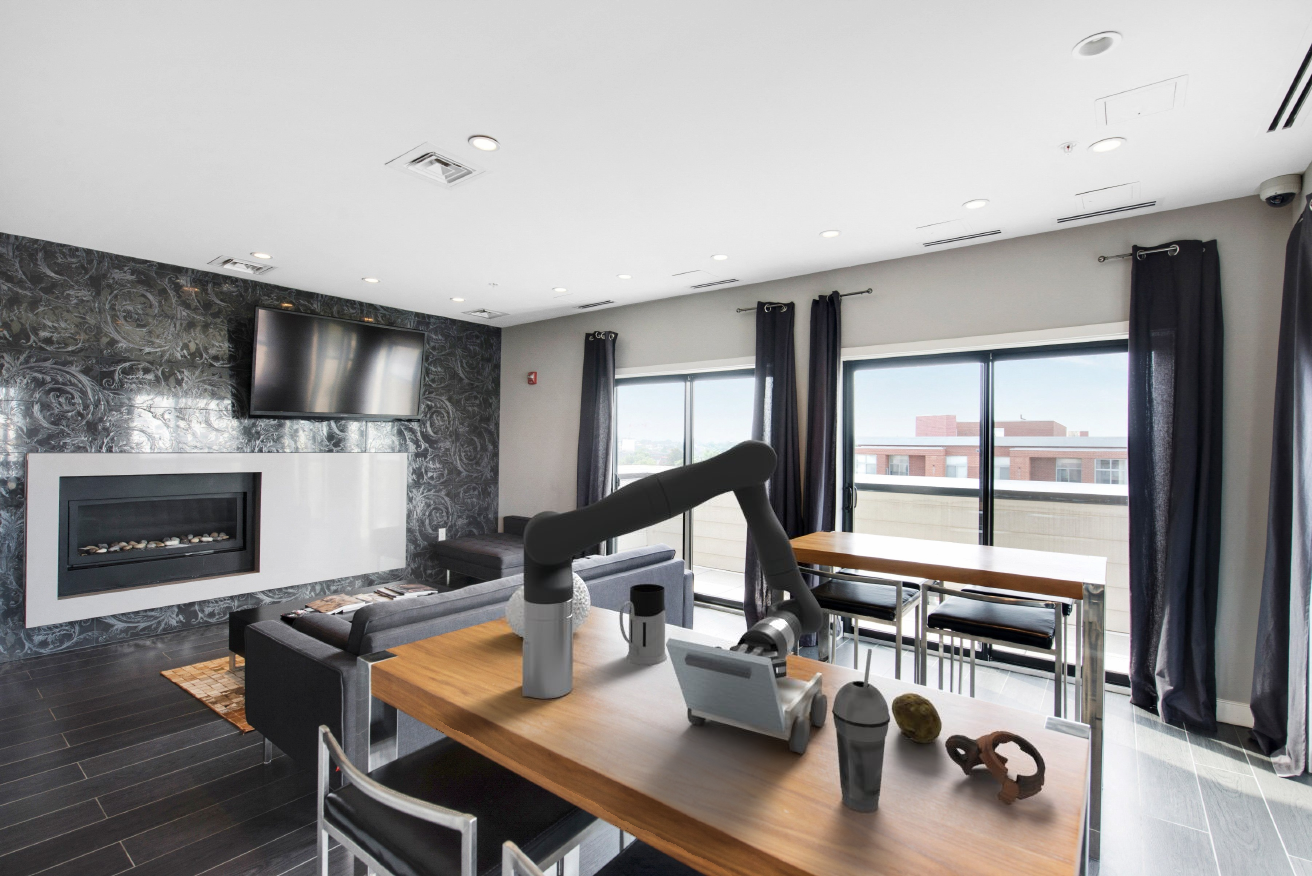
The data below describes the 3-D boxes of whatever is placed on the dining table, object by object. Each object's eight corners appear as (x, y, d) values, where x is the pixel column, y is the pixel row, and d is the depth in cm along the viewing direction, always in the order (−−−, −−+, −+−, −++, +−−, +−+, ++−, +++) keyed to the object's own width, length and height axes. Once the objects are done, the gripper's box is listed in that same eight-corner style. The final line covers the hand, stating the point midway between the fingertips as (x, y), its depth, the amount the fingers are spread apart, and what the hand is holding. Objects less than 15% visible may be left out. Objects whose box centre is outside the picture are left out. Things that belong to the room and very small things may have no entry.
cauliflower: (576, 584, 161) (563, 543, 151) (610, 630, 149) (598, 589, 139) (507, 626, 154) (488, 586, 143) (537, 678, 142) (518, 638, 131)
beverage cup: (823, 787, 84) (824, 640, 84) (874, 784, 84) (875, 639, 84) (844, 820, 76) (845, 660, 76) (900, 817, 77) (901, 658, 77)
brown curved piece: (1023, 772, 89) (1046, 737, 84) (1032, 836, 81) (1058, 801, 77) (935, 739, 92) (954, 704, 88) (936, 797, 84) (957, 762, 80)
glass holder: (674, 655, 134) (675, 586, 134) (638, 676, 122) (638, 601, 122) (641, 647, 138) (641, 581, 138) (603, 667, 126) (603, 594, 126)
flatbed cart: (729, 691, 115) (729, 654, 115) (830, 715, 105) (830, 675, 105) (683, 730, 99) (684, 687, 99) (796, 763, 90) (797, 715, 90)
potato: (956, 733, 99) (956, 684, 99) (932, 765, 89) (933, 710, 89) (903, 718, 104) (904, 671, 104) (876, 746, 95) (876, 695, 95)
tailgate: (690, 701, 98) (669, 638, 92) (786, 726, 90) (770, 658, 84) (685, 710, 97) (664, 647, 91) (783, 736, 89) (766, 668, 83)
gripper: (731, 617, 110) (688, 649, 95) (804, 628, 103) (770, 665, 88) (731, 658, 110) (688, 697, 95) (804, 672, 103) (770, 716, 88)
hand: (728, 681), depth 91 cm, fingers closed
